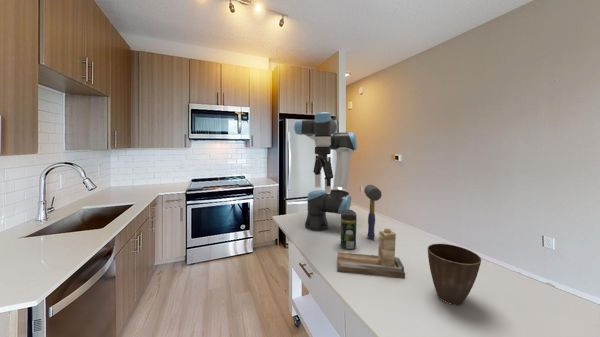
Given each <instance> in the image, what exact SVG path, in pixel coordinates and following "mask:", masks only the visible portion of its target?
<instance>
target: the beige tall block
mask: <svg viewBox="0 0 600 337" xmlns="http://www.w3.org/2000/svg"><path fill="white" fill-rule="evenodd" d="M396 235H397V234H396V233H395V232H394V231H392V229H390V228H384V229H383V230H379V232H378V252H377V253H378V255H377V256H378V263H379V264H380V265H381V266H392V267H393V266H394V261H395V257H396V256H395V255H396Z"/></svg>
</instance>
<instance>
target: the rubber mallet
mask: <svg viewBox="0 0 600 337" xmlns="http://www.w3.org/2000/svg"><path fill="white" fill-rule="evenodd" d="M363 191H364V195H365V196H366V197H367V198H368V199H369V212H368V218H367V228H368V230H367V236H366V237H367V238H368V239H369V240H374V239H375V236H376V233H375V226H376V225H375V224H376V215H375V206H376V205H375V203H376V202H377V201H379V200H380V199H381V198H382V190H380V189H379V188H378V187H377V186H376V185H374V184H368V185H366V186H365V187H364V190H363Z"/></svg>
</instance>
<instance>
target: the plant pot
mask: <svg viewBox="0 0 600 337" xmlns="http://www.w3.org/2000/svg"><path fill="white" fill-rule="evenodd" d="M427 257H428V258H427V259H428V266H429V270H430V275H431V279H432V282H433V286H434V289H435V291H436V295H437V297H438V296H439V297H440V298H441V299H442V301H443V300H444V301H443V302H445V301H446V302H445V303H447V302H448V303H447V304H449V303H451V304H450V305H453V304H456V305H455V306H460V305H459V304H461V305H463V304H464V302H465V301H466V299H467V298H468V296H469V294H470V292H471V290H472V289H473V286H474V284H475V282H476V279H477V277H478V274H479V270H480V267H481V263H482V258H481V256H480V255H479V254H477V253H476V252H474V251H472V250H469V249H467V248H464V247H461V246H458V245H454V244H447V243H432V244H430V245H428V246H427ZM439 297H438V298H439ZM440 298H439V299H440ZM441 299H440V300H441ZM462 303H463V304H462Z"/></svg>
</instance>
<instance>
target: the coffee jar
mask: <svg viewBox="0 0 600 337" xmlns="http://www.w3.org/2000/svg"><path fill="white" fill-rule="evenodd" d="M340 247H341V248H342V249H345V250H355V249H356V247H357V213H356V211H354V210H352V209H349V210H344V211H342V212H341V214H340Z"/></svg>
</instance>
